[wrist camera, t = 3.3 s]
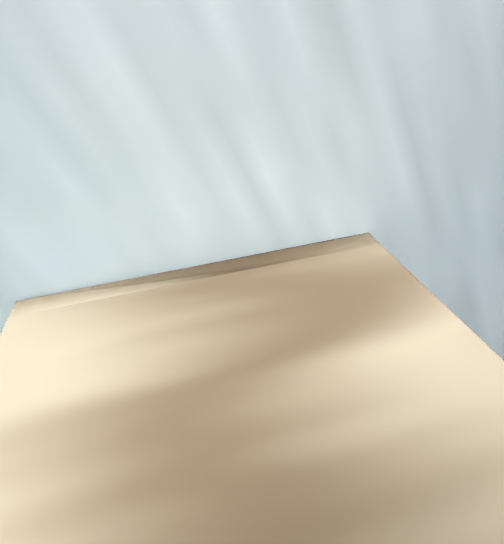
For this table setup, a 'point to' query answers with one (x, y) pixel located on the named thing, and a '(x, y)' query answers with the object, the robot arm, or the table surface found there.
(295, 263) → the small crate
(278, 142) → the table surface
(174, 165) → the table surface
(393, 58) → the table surface
